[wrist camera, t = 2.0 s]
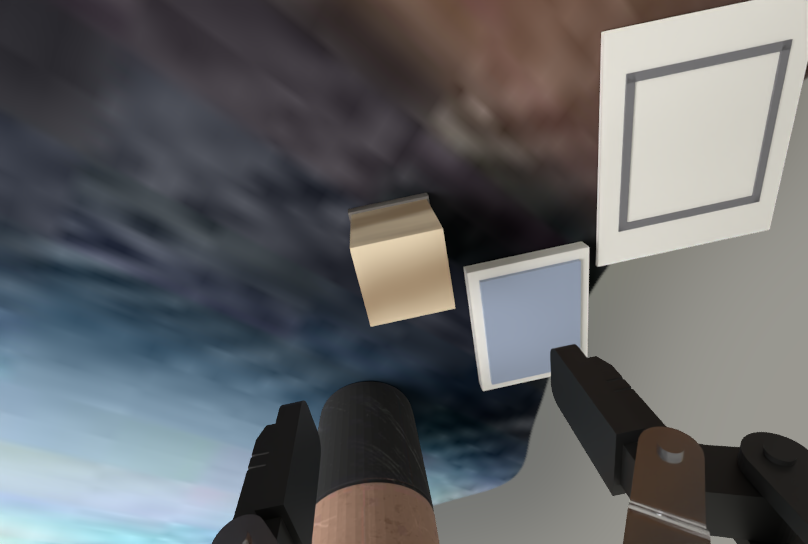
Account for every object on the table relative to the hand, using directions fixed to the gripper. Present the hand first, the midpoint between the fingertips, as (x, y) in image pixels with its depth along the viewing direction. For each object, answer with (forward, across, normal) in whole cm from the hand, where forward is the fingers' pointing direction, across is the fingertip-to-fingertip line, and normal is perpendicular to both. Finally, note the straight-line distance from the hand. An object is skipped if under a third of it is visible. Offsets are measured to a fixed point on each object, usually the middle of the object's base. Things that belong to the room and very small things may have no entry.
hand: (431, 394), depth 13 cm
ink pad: (+14, -8, +8) cm, 18 cm away
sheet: (+14, -19, -2) cm, 24 cm away
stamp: (+14, 0, 0) cm, 14 cm away
